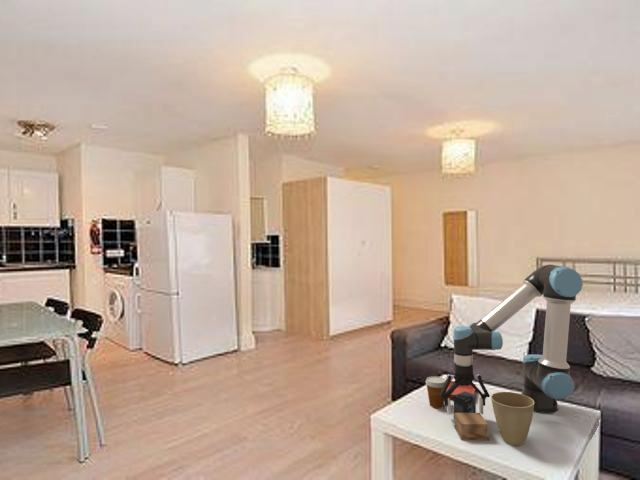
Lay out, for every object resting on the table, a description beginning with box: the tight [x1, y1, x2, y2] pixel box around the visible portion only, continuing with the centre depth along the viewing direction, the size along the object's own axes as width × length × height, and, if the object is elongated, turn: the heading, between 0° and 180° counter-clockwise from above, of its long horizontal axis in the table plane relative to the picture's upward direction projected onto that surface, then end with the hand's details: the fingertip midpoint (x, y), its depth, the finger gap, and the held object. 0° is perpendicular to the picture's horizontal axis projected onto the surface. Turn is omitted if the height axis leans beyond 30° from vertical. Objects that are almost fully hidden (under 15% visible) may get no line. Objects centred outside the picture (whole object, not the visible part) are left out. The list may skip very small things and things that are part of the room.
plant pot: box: [490, 391, 534, 446], centre depth 153 cm, size 15×15×16 cm
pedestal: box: [453, 412, 490, 441], centre depth 159 cm, size 11×11×6 cm
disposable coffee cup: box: [425, 376, 446, 409], centre depth 186 cm, size 10×10×12 cm
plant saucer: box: [446, 380, 477, 400], centre depth 199 cm, size 18×18×3 cm
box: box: [453, 391, 477, 421], centre depth 171 cm, size 8×6×11 cm
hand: (464, 412), depth 171 cm, fingers open, 13 cm apart
